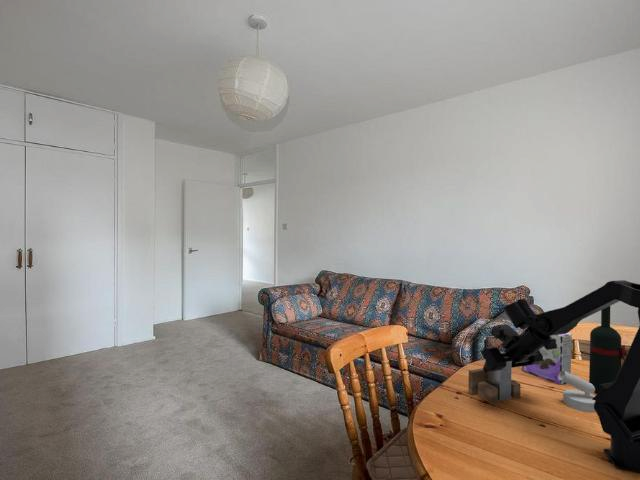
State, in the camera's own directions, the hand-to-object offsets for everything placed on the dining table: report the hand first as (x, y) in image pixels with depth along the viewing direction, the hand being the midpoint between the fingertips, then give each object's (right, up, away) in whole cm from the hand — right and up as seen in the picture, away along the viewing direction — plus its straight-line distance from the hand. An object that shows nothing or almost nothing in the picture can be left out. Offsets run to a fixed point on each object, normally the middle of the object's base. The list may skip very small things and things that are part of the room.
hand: (495, 368), depth 108 cm
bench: (0, -8, 0) cm, 8 cm away
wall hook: (+21, -8, -6) cm, 23 cm away
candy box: (+25, -8, +15) cm, 30 cm away
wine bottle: (+36, -8, +2) cm, 37 cm away
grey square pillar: (0, -8, -1) cm, 8 cm away
